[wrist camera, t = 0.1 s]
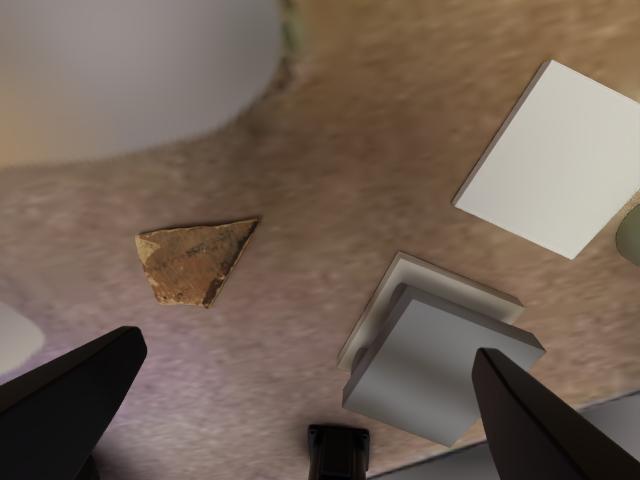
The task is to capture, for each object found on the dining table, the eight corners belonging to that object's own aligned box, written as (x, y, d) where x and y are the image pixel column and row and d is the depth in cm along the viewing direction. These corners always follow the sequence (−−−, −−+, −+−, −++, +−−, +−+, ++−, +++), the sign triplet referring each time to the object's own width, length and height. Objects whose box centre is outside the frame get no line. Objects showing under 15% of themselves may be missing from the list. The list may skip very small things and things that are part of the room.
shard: (265, 213, 23) (258, 222, 21) (284, 295, 26) (279, 308, 24) (141, 227, 25) (126, 235, 23) (173, 302, 28) (161, 314, 26)
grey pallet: (436, 394, 28) (452, 453, 23) (338, 357, 27) (333, 409, 23) (517, 298, 23) (559, 349, 18) (398, 250, 22) (409, 289, 18)
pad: (564, 254, 21) (572, 260, 20) (451, 202, 20) (454, 206, 20) (679, 129, 17) (694, 130, 16) (543, 61, 16) (552, 59, 16)
